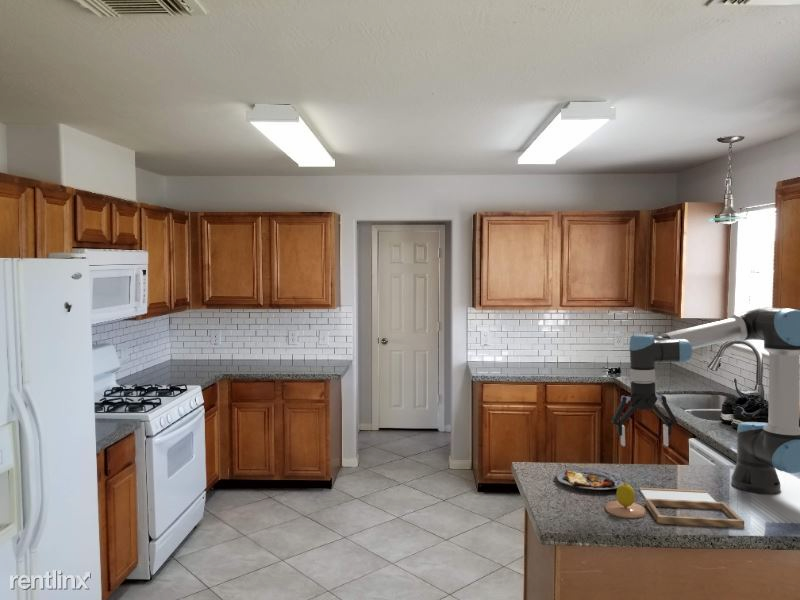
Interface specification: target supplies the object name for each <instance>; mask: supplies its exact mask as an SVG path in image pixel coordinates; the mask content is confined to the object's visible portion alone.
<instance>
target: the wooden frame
mask: <svg viewBox="0 0 800 600" xmlns="http://www.w3.org/2000/svg"><path fill="white" fill-rule="evenodd" d="M644 499H645V500H644V501H645V506H646V507H647V509H648V510H649V512H650V513H651V515H652V516H653V518H654V519H655V521H656V522H657V523H658V524H665V525H666V524H667V525H684V526H685V525H687V526H702V527H703V526H704V527H706V526H707V527H718V526H719V527H721V528H736V529H737V528H739V529H745V520H744V519H743V518H742V517H741V516H739V514H737V513H736V512H735V510H734V509H732V508H731V507H730V506H729V505H728V504H727V503H726V502H724V501H723V502H722V501H716V502H708V501H688V500H668V499H648V498H644ZM656 507H665V508H667V507H668V508H680V509H681V508H683V509H701V510H702V509H703V510H704V509H705V510H720V509H722V511H723V513H725V514H726V515H727V517H729V518H717V517H716V518H715V517H701V516H700V517H698V516H697V517H696V516H681V515H662V513H660V511H659V510H658V508H656Z"/></svg>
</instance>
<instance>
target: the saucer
mask: <svg viewBox="0 0 800 600" xmlns="http://www.w3.org/2000/svg"><path fill="white" fill-rule="evenodd" d="M605 511H606V512H607V513H608V514H610V515H613V516H616V517H620V518H624V519H625V518H626V519H640V518H643V517H644V516H645V515H646V509H645V507H644V506H642V505H641V504H639V503H636V502H633V504H632V505H631V506H628V507H627V508H625V507H624V506H622V505H621V504H620V503H619V502H618V500H611V501H608V502H607V503H606V504H605Z"/></svg>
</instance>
